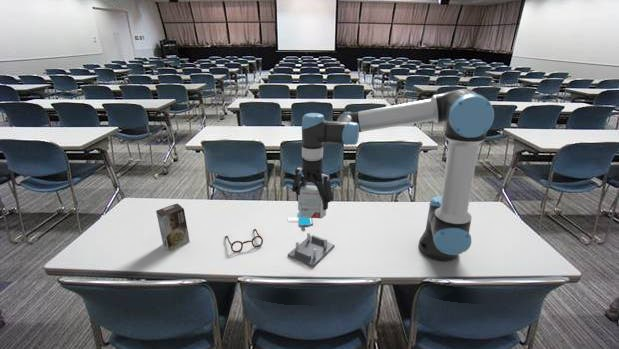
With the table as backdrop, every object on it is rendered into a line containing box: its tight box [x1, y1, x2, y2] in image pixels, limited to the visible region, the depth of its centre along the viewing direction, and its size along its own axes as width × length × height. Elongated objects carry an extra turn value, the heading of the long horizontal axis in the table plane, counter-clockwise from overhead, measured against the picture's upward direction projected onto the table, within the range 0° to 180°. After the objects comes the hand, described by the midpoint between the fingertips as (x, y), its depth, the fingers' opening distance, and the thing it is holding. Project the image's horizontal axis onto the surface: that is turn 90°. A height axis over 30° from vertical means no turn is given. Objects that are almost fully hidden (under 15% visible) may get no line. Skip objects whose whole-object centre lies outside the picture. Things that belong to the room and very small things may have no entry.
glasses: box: [224, 228, 264, 253], centre depth 137 cm, size 13×13×5 cm
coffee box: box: [155, 203, 190, 251], centre depth 133 cm, size 9×6×16 cm
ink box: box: [300, 184, 322, 219], centre depth 122 cm, size 9×5×12 cm, turn 84°
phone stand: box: [287, 210, 314, 232], centre depth 154 cm, size 20×12×2 cm, turn 5°
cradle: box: [287, 232, 335, 268], centre depth 130 cm, size 12×16×5 cm
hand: (311, 212), depth 124 cm, fingers closed on ink box, 9 cm apart
